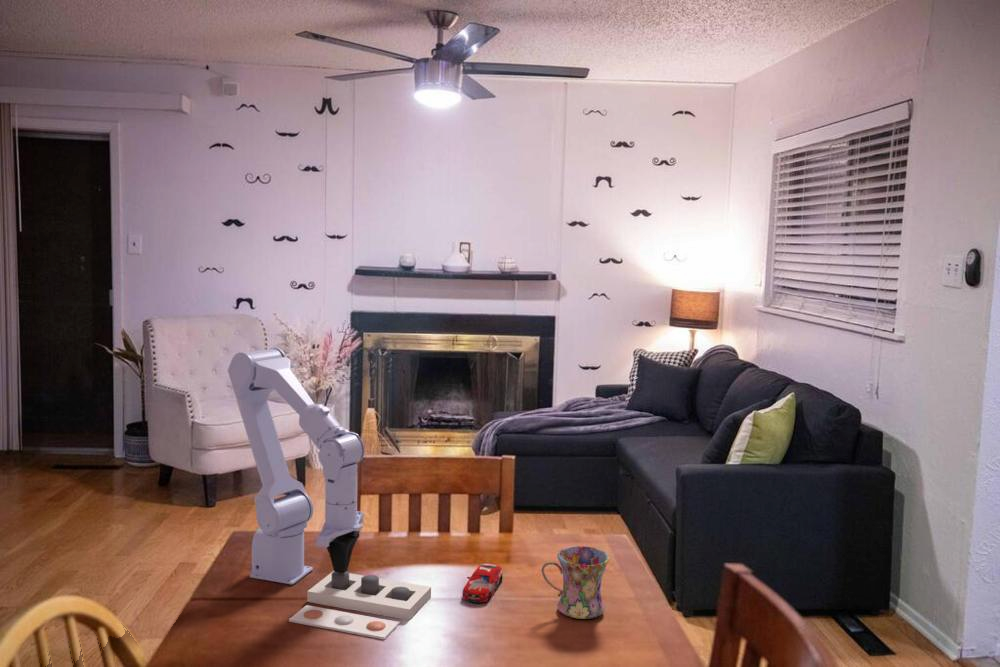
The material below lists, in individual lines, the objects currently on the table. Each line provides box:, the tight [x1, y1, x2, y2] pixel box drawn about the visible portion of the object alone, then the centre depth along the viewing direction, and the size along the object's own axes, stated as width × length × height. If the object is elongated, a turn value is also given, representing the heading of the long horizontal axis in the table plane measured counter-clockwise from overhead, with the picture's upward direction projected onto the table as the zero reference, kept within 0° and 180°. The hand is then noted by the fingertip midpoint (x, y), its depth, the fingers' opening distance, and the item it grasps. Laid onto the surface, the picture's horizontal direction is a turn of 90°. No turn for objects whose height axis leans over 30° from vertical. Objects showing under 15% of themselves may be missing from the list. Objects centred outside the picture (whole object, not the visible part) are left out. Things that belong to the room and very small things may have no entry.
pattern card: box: [288, 604, 400, 641], centre depth 152 cm, size 18×6×1 cm, turn 73°
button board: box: [306, 570, 432, 621], centre depth 162 cm, size 20×10×2 cm, turn 73°
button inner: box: [331, 570, 350, 591], centre depth 163 cm, size 3×3×2 cm
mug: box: [541, 545, 610, 620], centre depth 159 cm, size 12×9×11 cm
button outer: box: [391, 587, 409, 601], centre depth 160 cm, size 3×3×2 cm
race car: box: [461, 563, 504, 603], centre depth 168 cm, size 13×5×4 cm, turn 163°
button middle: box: [361, 574, 380, 596], centre depth 161 cm, size 3×3×2 cm
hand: (340, 571), depth 163 cm, fingers closed
